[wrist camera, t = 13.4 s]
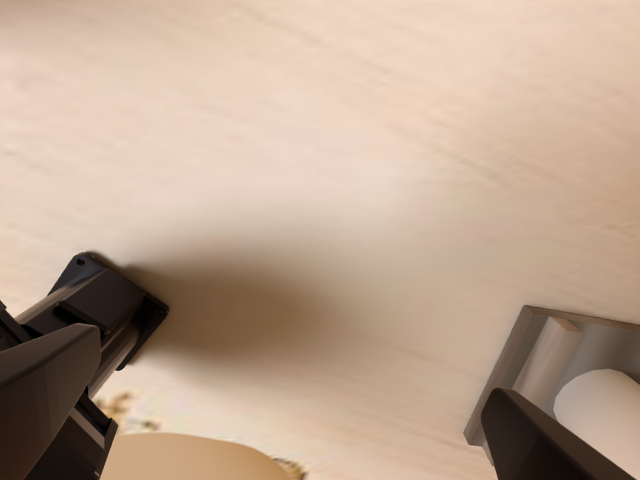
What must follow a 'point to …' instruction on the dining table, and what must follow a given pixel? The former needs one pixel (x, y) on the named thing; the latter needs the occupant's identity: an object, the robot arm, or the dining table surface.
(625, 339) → the holder
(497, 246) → the dining table surface
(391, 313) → the dining table surface
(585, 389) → the white cup
